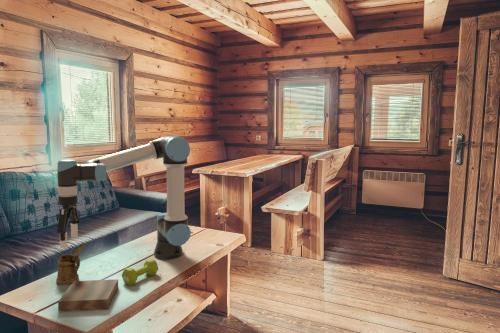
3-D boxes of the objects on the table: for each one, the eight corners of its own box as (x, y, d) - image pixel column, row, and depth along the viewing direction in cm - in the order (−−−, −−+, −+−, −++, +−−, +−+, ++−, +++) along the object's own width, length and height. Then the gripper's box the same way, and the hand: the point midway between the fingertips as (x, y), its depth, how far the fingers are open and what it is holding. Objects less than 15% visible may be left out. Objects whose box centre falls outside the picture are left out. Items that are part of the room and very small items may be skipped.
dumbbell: (132, 287, 161) (131, 272, 160) (120, 283, 166) (119, 267, 165) (160, 275, 175) (159, 260, 174) (148, 271, 179) (148, 256, 178)
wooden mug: (77, 287, 160) (75, 247, 158) (51, 283, 164) (49, 244, 162) (91, 279, 169) (89, 241, 167) (66, 275, 172) (64, 238, 170)
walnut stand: (118, 288, 160) (118, 279, 160) (107, 309, 143) (107, 299, 142) (74, 290, 158) (74, 281, 158) (58, 311, 140) (57, 301, 140)
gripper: (68, 189, 173) (70, 234, 176) (47, 201, 149) (48, 252, 151) (85, 190, 174) (86, 233, 177) (66, 201, 150) (68, 252, 152)
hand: (69, 242), depth 164 cm, fingers open, 13 cm apart
